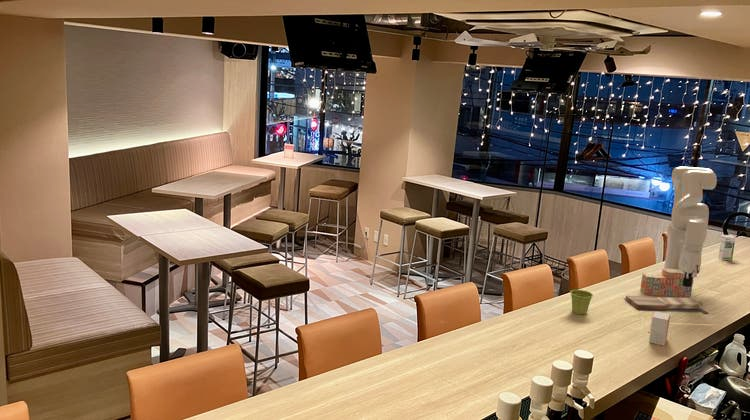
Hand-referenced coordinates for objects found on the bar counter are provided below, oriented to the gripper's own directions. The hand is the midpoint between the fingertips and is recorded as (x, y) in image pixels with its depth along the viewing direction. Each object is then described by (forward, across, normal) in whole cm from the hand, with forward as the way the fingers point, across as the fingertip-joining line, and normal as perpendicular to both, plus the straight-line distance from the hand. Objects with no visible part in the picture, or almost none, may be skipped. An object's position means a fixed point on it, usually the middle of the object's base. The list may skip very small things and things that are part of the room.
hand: (686, 286), depth 267 cm
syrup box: (+12, -87, +73) cm, 114 cm away
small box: (+9, +41, -32) cm, 53 cm away
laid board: (+9, +1, -18) cm, 20 cm away
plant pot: (+9, +12, -52) cm, 54 cm away
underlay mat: (+10, +1, -9) cm, 13 cm away
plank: (+9, +1, -3) cm, 9 cm away
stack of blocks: (+10, -16, 0) cm, 19 cm away
